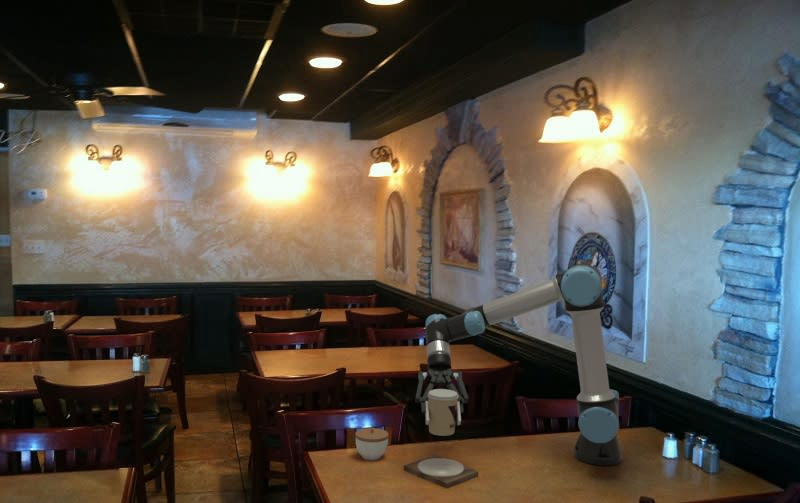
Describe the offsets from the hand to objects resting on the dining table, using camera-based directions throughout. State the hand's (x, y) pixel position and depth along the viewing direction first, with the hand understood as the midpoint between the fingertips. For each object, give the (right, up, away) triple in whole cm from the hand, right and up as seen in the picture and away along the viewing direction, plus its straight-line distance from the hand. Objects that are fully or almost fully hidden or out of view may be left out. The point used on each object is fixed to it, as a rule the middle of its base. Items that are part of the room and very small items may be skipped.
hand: (443, 422), depth 209 cm
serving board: (-1, -16, +4) cm, 17 cm away
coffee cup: (0, -4, +4) cm, 5 cm away
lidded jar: (-22, -15, +17) cm, 32 cm away
